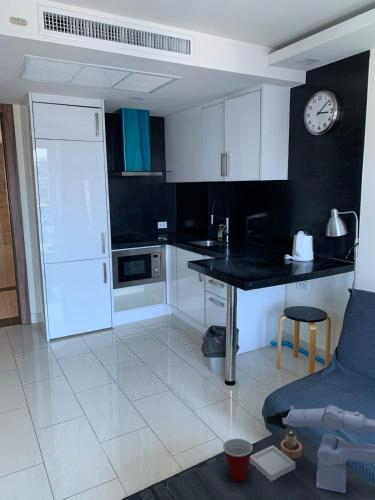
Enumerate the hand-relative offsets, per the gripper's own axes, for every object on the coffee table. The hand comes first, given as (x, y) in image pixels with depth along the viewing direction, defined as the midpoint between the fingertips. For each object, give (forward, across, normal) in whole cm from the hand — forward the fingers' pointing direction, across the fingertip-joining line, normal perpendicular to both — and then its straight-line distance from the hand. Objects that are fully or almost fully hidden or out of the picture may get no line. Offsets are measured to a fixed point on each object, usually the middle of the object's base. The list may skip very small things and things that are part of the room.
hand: (271, 418), depth 141 cm
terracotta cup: (+1, -17, +14) cm, 22 cm away
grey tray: (+5, -6, +17) cm, 19 cm away
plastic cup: (+14, +5, +18) cm, 24 cm away
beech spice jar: (+1, -17, +15) cm, 22 cm away
